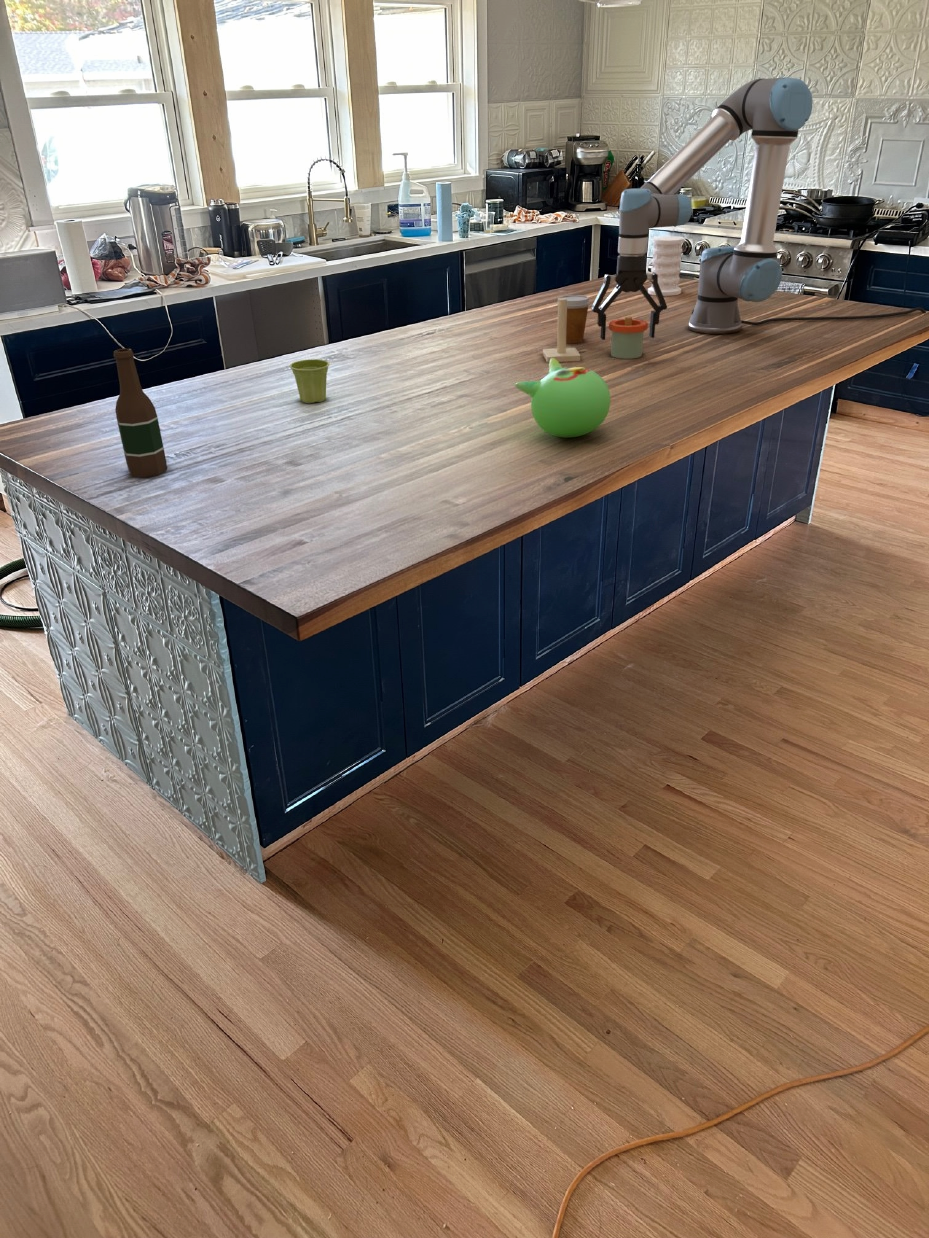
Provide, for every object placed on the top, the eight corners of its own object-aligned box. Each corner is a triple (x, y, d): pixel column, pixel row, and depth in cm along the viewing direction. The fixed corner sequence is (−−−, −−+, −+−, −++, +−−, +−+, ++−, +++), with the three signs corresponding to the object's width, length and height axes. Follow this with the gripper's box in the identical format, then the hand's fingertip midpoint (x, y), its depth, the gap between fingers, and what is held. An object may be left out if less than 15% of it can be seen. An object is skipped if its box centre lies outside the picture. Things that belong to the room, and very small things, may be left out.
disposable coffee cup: (588, 336, 273) (589, 294, 267) (589, 344, 265) (590, 301, 259) (556, 337, 274) (556, 294, 268) (555, 344, 266) (556, 301, 260)
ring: (642, 324, 254) (642, 318, 253) (650, 332, 245) (650, 326, 245) (606, 325, 254) (606, 319, 253) (613, 333, 245) (613, 327, 244)
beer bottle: (133, 465, 188) (106, 346, 176) (171, 463, 188) (148, 344, 176) (124, 479, 181) (96, 356, 169) (164, 477, 181) (139, 354, 169)
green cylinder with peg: (638, 350, 257) (640, 313, 252) (645, 358, 250) (647, 320, 245) (608, 351, 257) (610, 314, 252) (614, 359, 249) (616, 321, 244)
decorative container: (647, 295, 323) (651, 240, 314) (647, 289, 333) (651, 236, 324) (681, 296, 321) (686, 240, 312) (680, 289, 331) (684, 235, 322)
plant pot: (339, 395, 227) (336, 360, 222) (322, 407, 219) (318, 370, 215) (305, 393, 230) (301, 358, 225) (287, 404, 222) (282, 368, 218)
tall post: (575, 353, 257) (576, 295, 249) (580, 361, 249) (582, 301, 241) (542, 354, 256) (543, 296, 249) (547, 362, 248) (547, 303, 241)
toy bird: (585, 453, 186) (587, 380, 179) (512, 440, 194) (511, 370, 187) (621, 427, 199) (625, 359, 192) (551, 416, 207) (552, 350, 200)
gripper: (675, 250, 244) (669, 332, 254) (582, 254, 243) (579, 336, 254) (683, 254, 237) (675, 339, 248) (587, 258, 236) (584, 342, 247)
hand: (627, 337), depth 251 cm, fingers open, 13 cm apart
